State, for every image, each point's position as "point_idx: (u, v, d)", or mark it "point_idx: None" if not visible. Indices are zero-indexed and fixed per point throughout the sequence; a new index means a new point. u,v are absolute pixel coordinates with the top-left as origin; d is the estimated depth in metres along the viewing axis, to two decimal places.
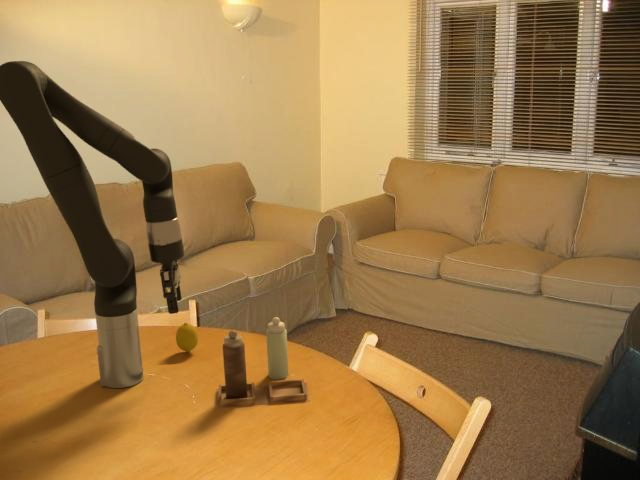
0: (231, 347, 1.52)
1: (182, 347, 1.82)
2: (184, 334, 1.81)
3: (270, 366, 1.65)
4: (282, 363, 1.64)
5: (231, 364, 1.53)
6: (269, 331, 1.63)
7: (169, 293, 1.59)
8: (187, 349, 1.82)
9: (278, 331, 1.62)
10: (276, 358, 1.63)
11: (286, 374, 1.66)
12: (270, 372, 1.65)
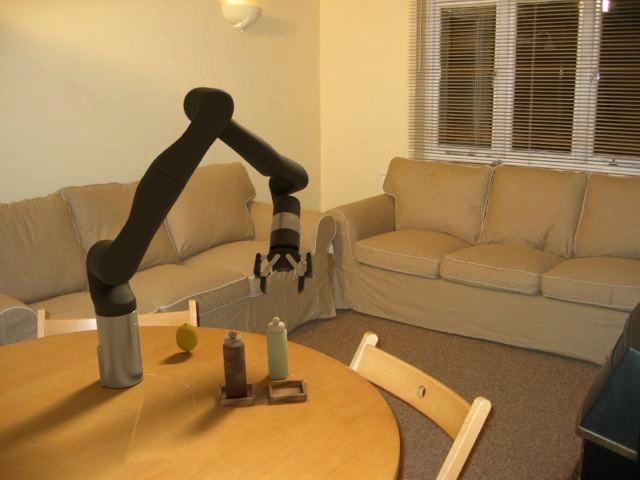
0: (231, 347, 1.52)
1: (182, 347, 1.82)
2: (184, 334, 1.81)
3: (270, 366, 1.65)
4: (282, 363, 1.64)
5: (231, 364, 1.53)
6: (269, 331, 1.63)
7: None
8: (187, 349, 1.82)
9: (278, 331, 1.62)
10: (276, 358, 1.63)
11: (286, 374, 1.66)
12: (270, 372, 1.65)
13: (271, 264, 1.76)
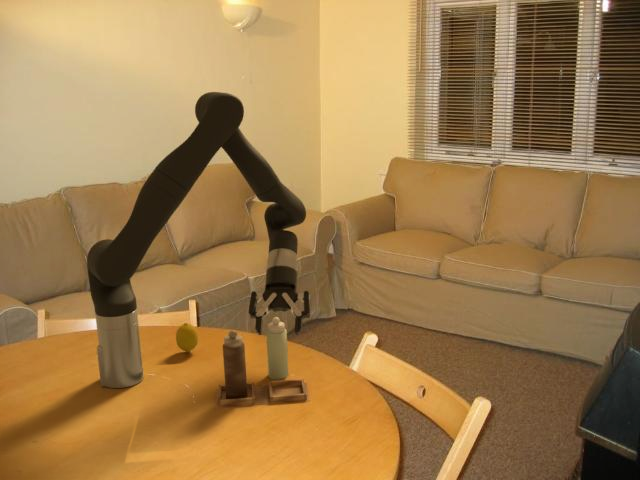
0: (231, 347, 1.52)
1: (182, 347, 1.82)
2: (184, 334, 1.81)
3: (270, 366, 1.65)
4: (282, 363, 1.64)
5: (231, 364, 1.53)
6: (269, 331, 1.63)
7: None
8: (187, 349, 1.82)
9: (278, 331, 1.62)
10: (276, 358, 1.63)
11: (286, 374, 1.66)
12: (270, 372, 1.65)
13: (267, 304, 1.70)
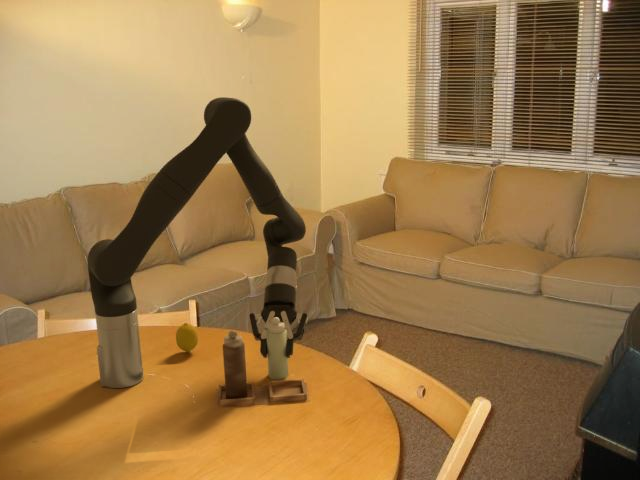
0: (231, 347, 1.52)
1: (182, 347, 1.82)
2: (184, 334, 1.81)
3: (270, 366, 1.65)
4: (282, 363, 1.64)
5: (231, 364, 1.53)
6: (269, 331, 1.63)
7: (300, 334, 1.66)
8: (187, 349, 1.82)
9: (278, 331, 1.62)
10: (276, 358, 1.63)
11: (286, 374, 1.66)
12: (270, 372, 1.65)
13: None
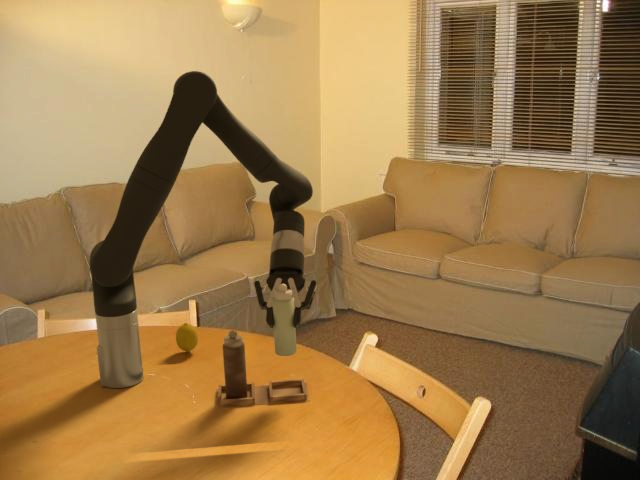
0: (231, 347, 1.52)
1: (182, 347, 1.82)
2: (184, 334, 1.81)
3: (276, 337, 1.53)
4: (289, 333, 1.53)
5: (231, 364, 1.53)
6: (275, 299, 1.52)
7: None
8: (187, 349, 1.82)
9: (285, 298, 1.51)
10: (283, 327, 1.52)
11: (294, 345, 1.54)
12: (276, 343, 1.54)
13: None
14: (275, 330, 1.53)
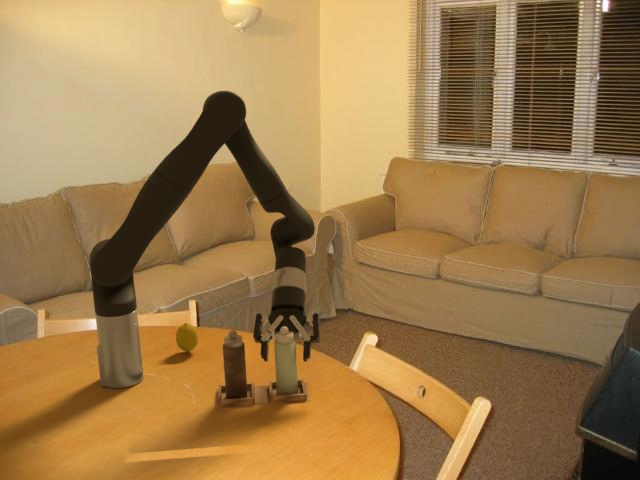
0: (231, 347, 1.52)
1: (182, 347, 1.82)
2: (185, 334, 1.81)
3: (278, 378, 1.56)
4: (291, 375, 1.55)
5: (231, 364, 1.53)
6: (277, 341, 1.54)
7: None
8: (187, 349, 1.82)
9: (287, 341, 1.53)
10: (285, 369, 1.54)
11: (295, 386, 1.56)
12: (278, 384, 1.56)
13: (273, 327, 1.57)
14: (277, 372, 1.56)
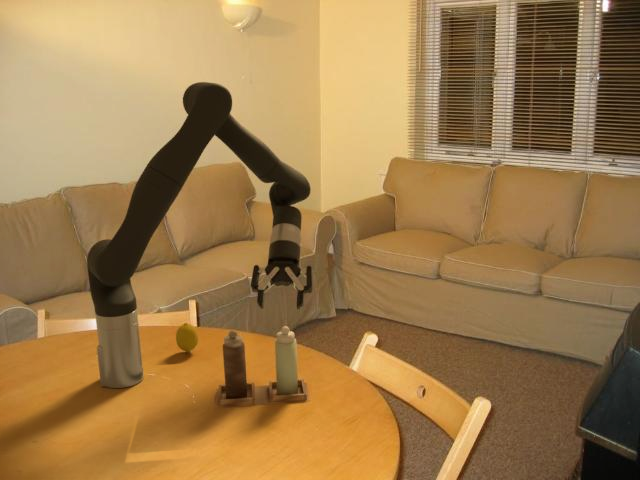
0: (231, 347, 1.52)
1: (182, 347, 1.82)
2: (185, 334, 1.81)
3: (278, 378, 1.56)
4: (291, 375, 1.55)
5: (231, 364, 1.53)
6: (278, 341, 1.54)
7: None
8: (187, 349, 1.82)
9: (287, 341, 1.53)
10: (285, 369, 1.54)
11: (295, 387, 1.56)
12: (278, 384, 1.56)
13: (270, 277, 1.69)
14: (277, 372, 1.56)
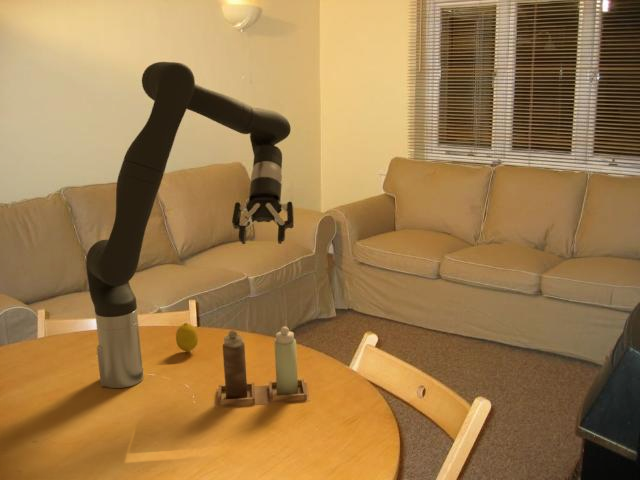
0: (231, 347, 1.52)
1: (182, 347, 1.82)
2: (184, 334, 1.81)
3: (278, 378, 1.56)
4: (291, 375, 1.55)
5: (231, 364, 1.53)
6: (277, 341, 1.54)
7: None
8: (187, 349, 1.82)
9: (287, 342, 1.53)
10: (285, 369, 1.54)
11: (295, 387, 1.56)
12: (278, 384, 1.56)
13: (251, 213, 1.70)
14: (277, 372, 1.55)
